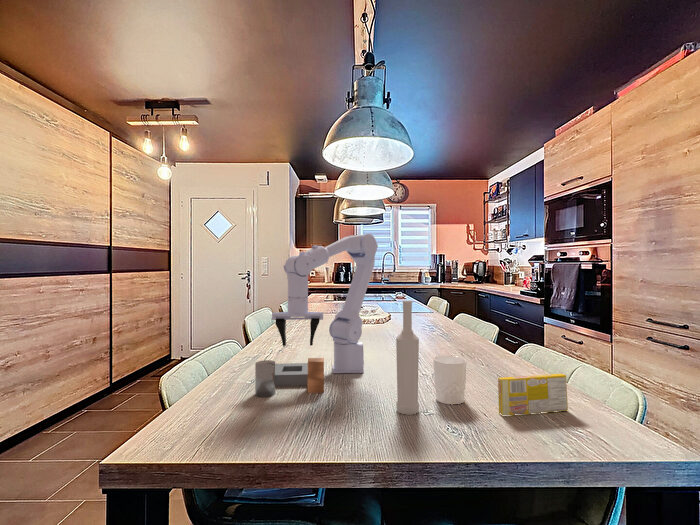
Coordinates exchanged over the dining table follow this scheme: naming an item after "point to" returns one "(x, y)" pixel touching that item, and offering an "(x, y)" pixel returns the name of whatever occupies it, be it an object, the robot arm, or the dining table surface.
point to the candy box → (532, 394)
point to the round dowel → (265, 378)
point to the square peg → (315, 375)
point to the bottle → (407, 365)
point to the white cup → (450, 379)
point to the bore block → (291, 374)
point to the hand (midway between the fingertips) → (297, 345)
